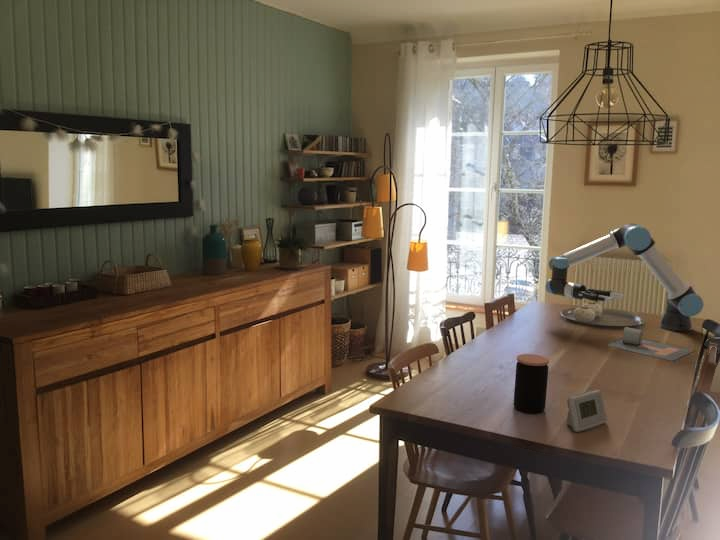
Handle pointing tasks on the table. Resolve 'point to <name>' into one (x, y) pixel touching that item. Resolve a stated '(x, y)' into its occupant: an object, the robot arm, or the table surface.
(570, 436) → the table surface
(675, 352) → the t mat
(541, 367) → the coffee jar
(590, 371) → the table surface
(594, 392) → the digital clock
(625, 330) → the ceramic mug
